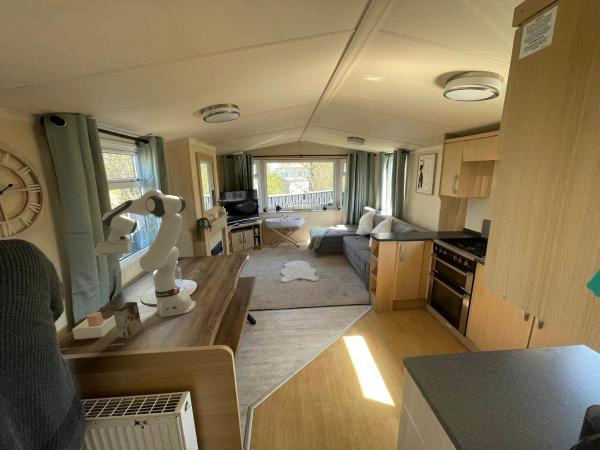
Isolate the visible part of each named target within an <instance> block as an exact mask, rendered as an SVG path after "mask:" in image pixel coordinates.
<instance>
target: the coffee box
mask: <svg viewBox="0 0 600 450" xmlns="http://www.w3.org/2000/svg"><path fill="white" fill-rule="evenodd" d="M112 311H113V312H112V313H113V315H114V317H115V322H116V326H115V327H116V330H117V335H118V338H127V339H128V340H129V339H131V338H132V337H134V336H135V335H136V334H137V333H139V332H140V331H141V330H143V326H142V319H141V315H140V312H139V311H140V310H139V307H138V301H127V302H125V303H123V304H121V305H120V306H118V307H116V308H114V309H113V310H112Z"/></svg>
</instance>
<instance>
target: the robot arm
mask: <svg viewBox="0 0 600 450" xmlns="http://www.w3.org/2000/svg"><path fill="white" fill-rule="evenodd" d="M186 205H187V204H186V200H185V199H184V197H182V196H181V195H176V194H175V195H170V194H164V193H163V192H162V191H161V190H159V189H157V188H155V189H154V188H153V189H151V190H148V191H147V192H145V193H144V194H143V195H141V196H140V197H139V198H136V199H128V200H126V201H124V202H122V203H121V204H120V205H117V206H116V207H115V208H112V209H111V210H108V211H106V213H104V214H103V215H102V218H101V223H102V225H103V226H104V227H107V228H111V232H110V233H109V234H108V238H107V240H106V241H101V242H99V243H98V244H97V246H95V248H94V250H93V254H94V255H95V256H97V257H99V259H98V261H99V262H104V260H105V258H103V257H104V256H113V255H114V256H115V261H120V259H121V258H122V257H123V255H125V254H126V255H127V254H130V253H131V251H132V244H133V242H132V240H131V239H130V238H129V237H127V235H128V236H129V235H131V234H134V233H135V232H136V230H137V227H138V222H137V221H136V219H134V218H131V217H130V216H129V217H128V216H126V215H124V214H126V213H127V214H129V213H130V214H133V215H134V214H135V215H138V216H145V217H147V216H150V215H154V217H155V218H158V219H159V218H161V223H160V226H159V228H158V231H157V235H156V237H155V239H154V241H153V243H152V244H151V245H150V247H149V248H148V250H147V251H146V252H145V254H144V255H142V256H141V257H140V259H139V266H140V268H141V269H142V270H143V271H144V272H148V273H149V272H155V271H156V273H155V275H154V277H153V283H154V288H155V290H154V294H155V298H156V312H155V314H156V315H158V316H160V318H166V317H171V316H177V315H182V314H188V313H189V312H190V313H191V311H192V310H194V308H196V301H195V300H192V298H191V296H190V295H189V294H188V293H185V292H183V291H180V289H181V285H179V286H177V285H176V280H175V268H176V265H177V261H178V259H179V257H180V255H181V254H180V251H179V250H180V249H179V248H178V247H177V246H176V244H178V243H177V242H178V240H179V238H180V233H181V231H182V227H183V222H184V221H183V220H184V219H183V215H181V214H180V213H182V212H184V211H185V209H186V207H187V206H186ZM116 255H117V256H116Z"/></svg>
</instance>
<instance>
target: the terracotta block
mask: <svg viewBox="0 0 600 450" xmlns="http://www.w3.org/2000/svg"><path fill="white" fill-rule="evenodd" d="M86 319H87V321H88V325H89V327H96V326H101V325H102V324H103V319H104V318H103V314H102V312H101V311H97V312H91V313H90V314H89V315H87V316H86Z"/></svg>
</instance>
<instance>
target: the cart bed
mask: <svg viewBox="0 0 600 450" xmlns="http://www.w3.org/2000/svg"><path fill="white" fill-rule="evenodd" d="M114 327H115V328H116V327H117V326H116V322H115V317H114V314H113V315H112V316H111V317H109V319H108V320H107V321H106V322H104V323H103V324H102V325H101V326H96V327H89V325H88V321H87V318H86V319H85V320H83V321H82V322H80V323H78V325H76V326H75V327H73V328H72V329H71V330H72V334H73V337H74V340H84V339H93V338H94V339H97V338H104V337H105V336H106V334H108V333H109V332H111V330H112V329H114Z"/></svg>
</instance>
